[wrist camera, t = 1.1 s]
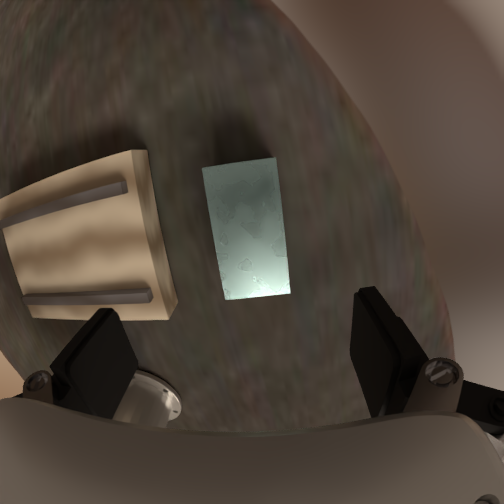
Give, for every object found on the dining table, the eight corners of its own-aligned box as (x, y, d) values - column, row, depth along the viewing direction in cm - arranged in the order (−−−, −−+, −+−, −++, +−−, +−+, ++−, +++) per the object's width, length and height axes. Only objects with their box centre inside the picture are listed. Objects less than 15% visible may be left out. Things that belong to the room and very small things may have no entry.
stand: (178, 301, 32) (165, 325, 28) (46, 305, 34) (28, 321, 29) (147, 149, 26) (125, 149, 22) (14, 195, 28) (-9, 202, 23)
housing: (285, 267, 31) (290, 293, 25) (231, 273, 31) (225, 299, 25) (272, 157, 27) (275, 157, 21) (214, 165, 27) (201, 168, 22)
